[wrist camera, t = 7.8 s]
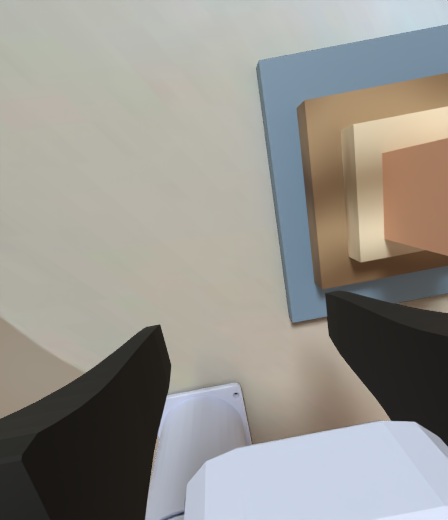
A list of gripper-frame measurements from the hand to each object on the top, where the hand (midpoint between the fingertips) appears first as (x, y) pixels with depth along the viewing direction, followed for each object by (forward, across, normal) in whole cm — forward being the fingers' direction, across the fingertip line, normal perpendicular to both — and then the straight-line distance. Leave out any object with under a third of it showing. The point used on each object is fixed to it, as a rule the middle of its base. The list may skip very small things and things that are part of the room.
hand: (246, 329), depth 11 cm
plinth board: (+9, -12, -4) cm, 16 cm away
